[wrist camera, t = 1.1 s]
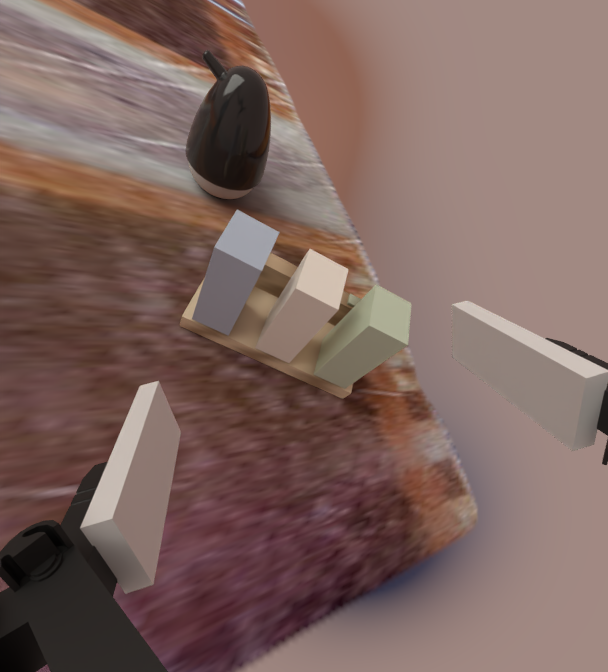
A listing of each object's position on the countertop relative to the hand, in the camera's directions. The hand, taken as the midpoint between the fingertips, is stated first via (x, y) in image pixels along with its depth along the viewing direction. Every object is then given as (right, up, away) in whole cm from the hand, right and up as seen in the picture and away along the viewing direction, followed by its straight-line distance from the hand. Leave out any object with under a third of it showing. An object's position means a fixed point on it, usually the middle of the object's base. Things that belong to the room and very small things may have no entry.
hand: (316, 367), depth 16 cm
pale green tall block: (+3, -2, +25) cm, 25 cm away
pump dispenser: (-13, +23, +35) cm, 43 cm away
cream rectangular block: (-3, +1, +24) cm, 24 cm away
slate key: (-10, +4, +22) cm, 24 cm away
